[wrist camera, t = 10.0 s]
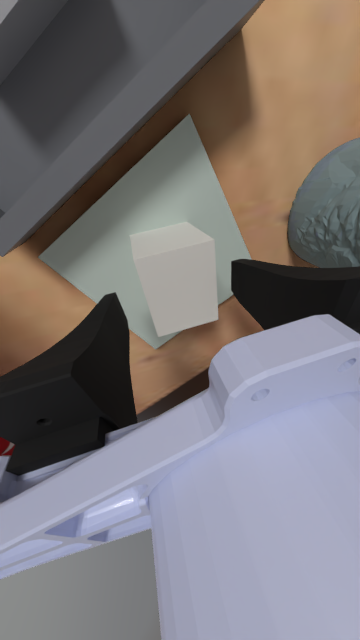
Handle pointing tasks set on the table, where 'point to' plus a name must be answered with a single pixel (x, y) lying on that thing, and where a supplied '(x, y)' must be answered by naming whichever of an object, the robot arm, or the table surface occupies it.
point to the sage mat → (148, 226)
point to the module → (177, 276)
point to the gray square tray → (90, 88)
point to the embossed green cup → (329, 211)
